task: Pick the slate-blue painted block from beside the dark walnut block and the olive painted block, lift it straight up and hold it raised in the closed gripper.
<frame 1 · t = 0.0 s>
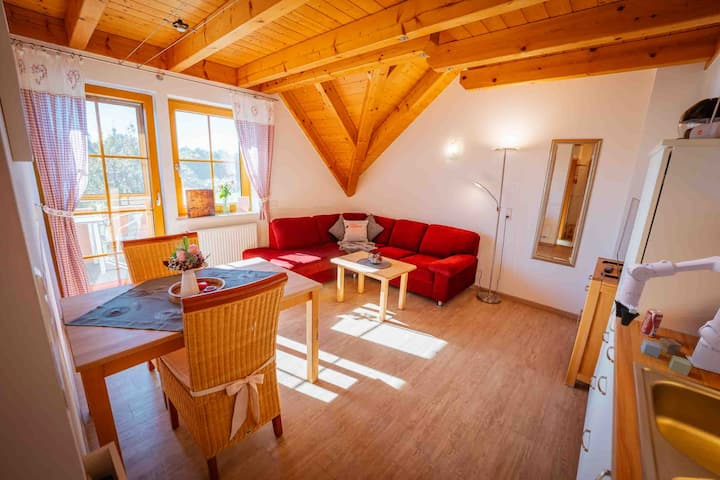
hand: (621, 321, 123), 10 cm above the worktop, tool pointing down, fingers open, 7 cm apart
walnut block: (667, 350, 122), on the worktop
olive block: (677, 370, 110), on the worktop
slate blue block: (648, 353, 120), on the worktop
soda can: (646, 334, 134), on the worktop
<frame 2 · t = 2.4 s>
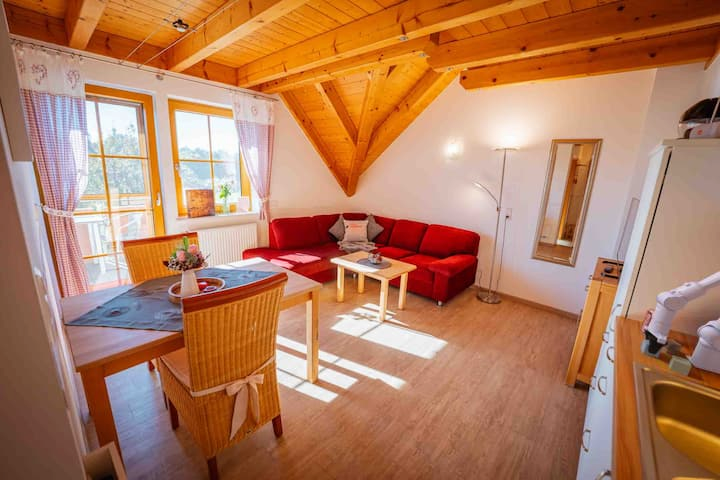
hand: (650, 349, 119), 1 cm above the worktop, tool pointing down, fingers closed on slate blue block, 4 cm apart
slate blue block: (648, 352, 120), on the worktop, touching gripper
everything else where it was.
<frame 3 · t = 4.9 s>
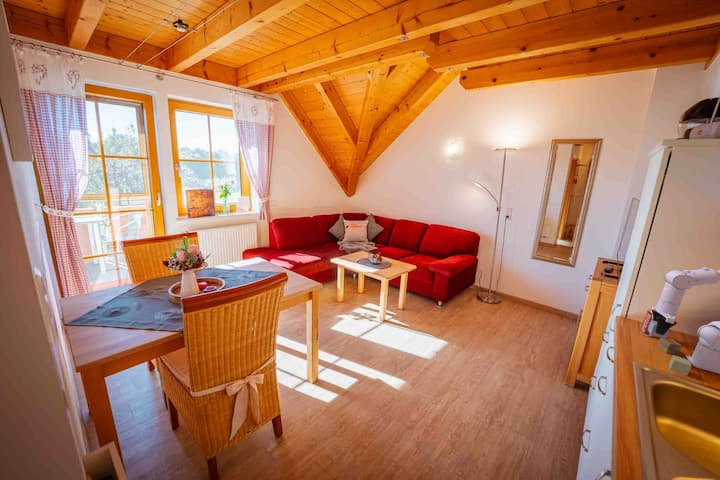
hand: (657, 331, 117), 10 cm above the worktop, tool pointing down, fingers closed on slate blue block, 4 cm apart
slate blue block: (656, 334, 117), point 9 cm above the worktop, touching gripper
everything else where it was.
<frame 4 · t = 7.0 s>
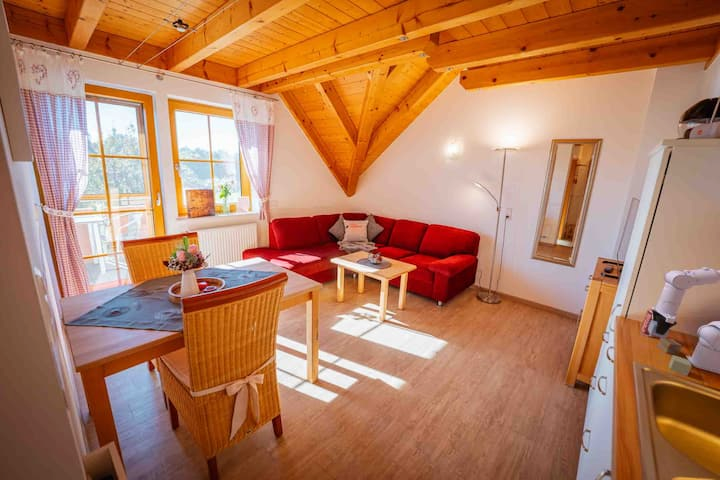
hand: (657, 331, 117), 10 cm above the worktop, tool pointing down, fingers closed on slate blue block, 4 cm apart
slate blue block: (656, 334, 117), point 9 cm above the worktop, touching gripper
everything else where it was.
at the end: slate blue block point 9.0 cm above the worktop; walnut block moved 0.1 cm from its start; olive block moved 0.1 cm from its start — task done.
